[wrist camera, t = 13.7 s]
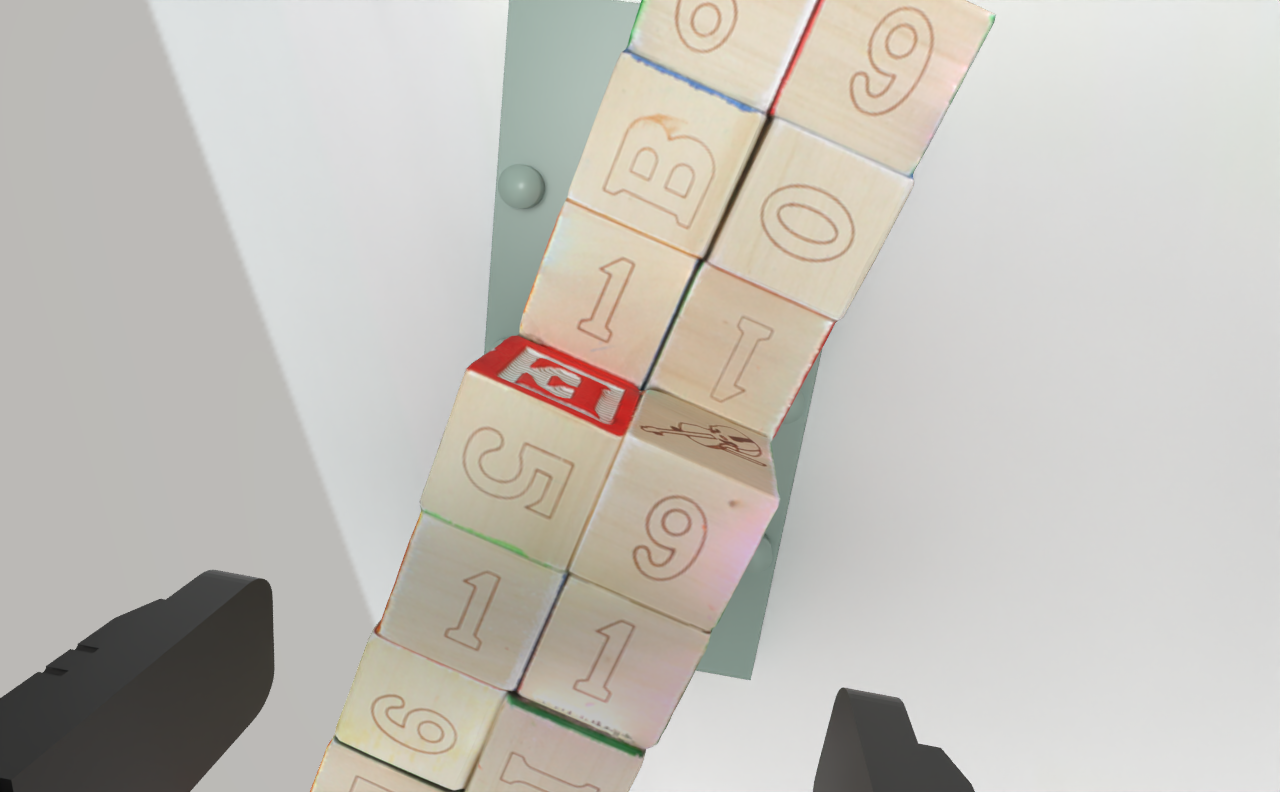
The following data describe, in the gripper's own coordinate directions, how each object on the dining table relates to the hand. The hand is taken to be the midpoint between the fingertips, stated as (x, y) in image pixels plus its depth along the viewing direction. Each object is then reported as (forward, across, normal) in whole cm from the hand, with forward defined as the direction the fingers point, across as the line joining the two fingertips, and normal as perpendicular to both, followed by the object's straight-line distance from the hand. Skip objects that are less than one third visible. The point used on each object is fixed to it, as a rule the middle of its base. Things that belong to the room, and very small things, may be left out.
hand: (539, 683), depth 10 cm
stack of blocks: (+16, 0, -1) cm, 16 cm away
